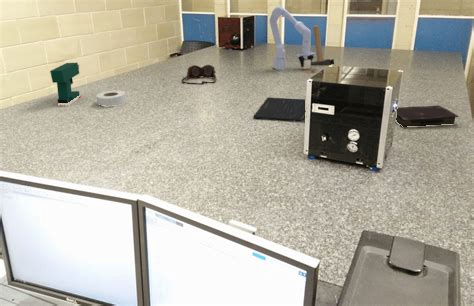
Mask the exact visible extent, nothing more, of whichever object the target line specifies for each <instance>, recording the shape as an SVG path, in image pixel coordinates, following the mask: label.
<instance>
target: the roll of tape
mask: <svg viewBox="0 0 474 306" xmlns="http://www.w3.org/2000/svg"><path fill="white" fill-rule="evenodd" d="M96 100H97V105H98V104H100V105H106V106H109V105H111V106H112V105H119V104H123V103H125V102H126V103H127V97H126V92H125V91H124V90H107V91H103V92H100V93H98V94H97V95H96ZM126 103H125V104H126ZM123 105H124V104H123Z"/></svg>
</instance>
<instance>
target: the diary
mask: <svg viewBox="0 0 474 306" xmlns="http://www.w3.org/2000/svg"><path fill="white" fill-rule="evenodd" d="M459 117H460V116H459V115H458V114H456V113H454V112H453V111H451V110H449V109H447V108H445V107H443V106H441V105H424V106H422V105H419V106H403V107H401V106H399V107H398V109H397V118H396V120H397V122H398V123H399V124H401V125H402V126H403V127H407V126H426V125H441V124H455V121H456V120H455V119H456V118H459ZM401 125H400V126H399V127H400V128H403V127H402V126H401Z"/></svg>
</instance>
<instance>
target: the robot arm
mask: <svg viewBox="0 0 474 306" xmlns="http://www.w3.org/2000/svg"><path fill="white" fill-rule="evenodd" d="M280 17H282V18H286V19H287V20H288V21H289V22H290V23H292V24H293V26H294V27H293V28H294V29H295V30H296V31H297V32H298V33H299V34H301V35H302V47H301V49H302V50H301V53H296V58H298V60H299V64H300V68H301V67H303V66H304V59H310V60H311V62H313V59H314V58H315V56H316V51H315V52H311V44H312V38H311V36H312V31H311V30H310V29H309V28H308V27H307V26H306V25H305V24H304V22H303V21H298V20H296V18H295V17H294V16H293V15H292V14H291V13H290V12H289V11H288V10H286V9H285V8H284V7H283V6H282V5H278V6H275V8H274V9H273V10H272V12H271V15H270V17H269V24H270V29H271V33H272V37H273V41H274V45H275V50H276V51H275V57H274V58H273V65H272V66H273V68H272V70H273V71H275V72H280V71H281V70H286V64H287V63H286V62H287V61H286V59H287V57H286V56H285V55H286V53H287V51H286V49H285V48H284V45H283V42H282V37H281V34H280V29H279V25H278V22H277V21H278V20H279V18H280ZM305 57H307V58H305Z"/></svg>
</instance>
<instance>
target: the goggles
mask: <svg viewBox="0 0 474 306" xmlns="http://www.w3.org/2000/svg"><path fill="white" fill-rule="evenodd" d="M216 72H217V71H216V69H215V66H213V65H211V64H205V65H204V66H202V67H201V66H199V65H195V64H193V65H190V66H188V68H187V72H186V75H185V77H184V76H182V79H181V83H182V84H184V83H187V84H186V85H205V84H207V83H212V84H216V82H217V76H216ZM201 77H202V78H205V77H212V78H213V79H215V80H213V81H205V80H203V81H201V82H188V81H187V82H186V81H185V80H190V79H199V78H201Z"/></svg>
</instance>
